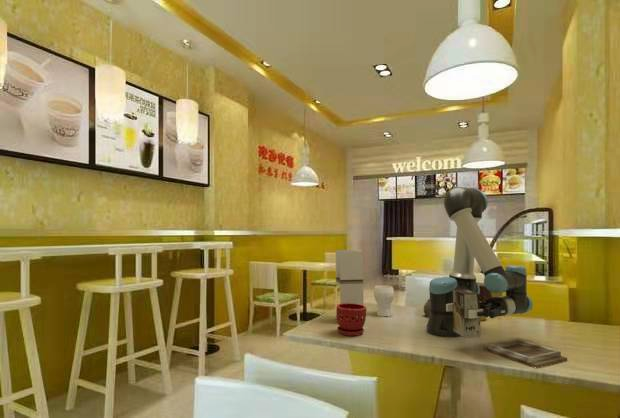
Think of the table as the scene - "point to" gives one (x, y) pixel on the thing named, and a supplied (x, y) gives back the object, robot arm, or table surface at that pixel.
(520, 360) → the brown flat tray
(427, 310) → the vase
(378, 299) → the cup
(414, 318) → the table surface
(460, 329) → the coffee box
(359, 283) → the white banded column
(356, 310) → the plant pot
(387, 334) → the table surface
